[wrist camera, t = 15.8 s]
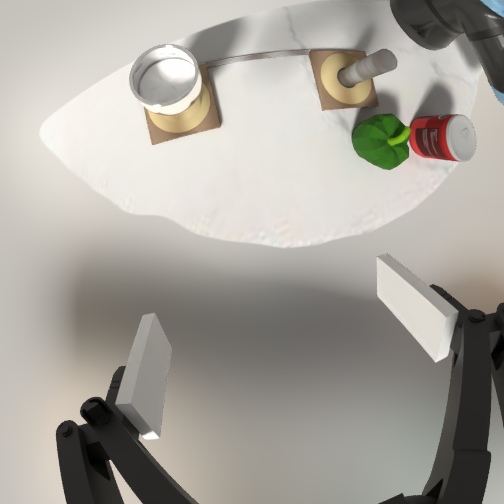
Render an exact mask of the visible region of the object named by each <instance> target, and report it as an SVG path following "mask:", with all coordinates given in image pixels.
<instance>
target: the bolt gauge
mask: <svg viewBox="0 0 504 504" xmlns="http://www.w3.org/2000/svg"><path fill="white" fill-rule="evenodd" d="M293 55H309V58H310V61H311V65H312V69H313V73H314V77H315V81H316V85H317V89H318V93H319V97H320V102H321V106H322V111H323V110H333V109H345V108H359V107H376V106H379V105H378V100H377V96H376V91H375V87H374V83H373V79H372V78H373V77H375V76H378V75H381V74H383V73H386V72H389V71H391V70H394V69H395V68H396V67H397V59H396V57H395V55H394V54H393V53H392V52H391V51H389V50H387V49H381V50H379V51H377V52H375V53H373V54H371V55H369V56H366V53H365V51H310V52H309V51H308V50H293V51H280V52H270V53H261V54H253V55H246V56H239V57H233V58H227V59H222V60H216V61H211V62H206V64H205V65H200V66H199V69H200V72H201V77H202V89H201V93H200V107H199V109H198V111H197V113H196V114H195V115H194V116H193V117H192V118H191V119H189V120H187V121H185V122H180V123H174V122H170V121H168V120H166V119H164V118H163V117H162V116H160V115H157V114H154V113H152V112H151V111H149V110H148V109H146V108H145V107H144V110H145V115H146V120H147V124H148V129H149V133H150V138H151V142H152V145H155V144H158V143H162V142H165V141H169V140H172V139H176V138H179V137H183V136H187V135H191V134H194V133H198V132H203V131H207V130H211V129H215V128H220V123H219V118H218V114H217V109H216V105H215V100H214V96H213V92H212V87H211V83H210V78H209V74H208V69H207V68H208V67H213V66H218V65H223V64H229V63H234V62H241V61H247V60H254V59H262V58H271V57H281V56H293Z"/></svg>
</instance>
